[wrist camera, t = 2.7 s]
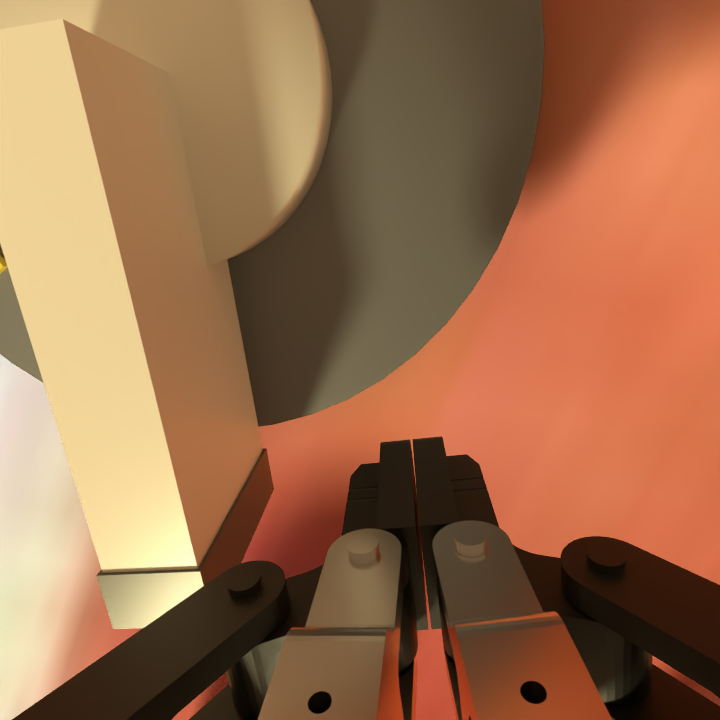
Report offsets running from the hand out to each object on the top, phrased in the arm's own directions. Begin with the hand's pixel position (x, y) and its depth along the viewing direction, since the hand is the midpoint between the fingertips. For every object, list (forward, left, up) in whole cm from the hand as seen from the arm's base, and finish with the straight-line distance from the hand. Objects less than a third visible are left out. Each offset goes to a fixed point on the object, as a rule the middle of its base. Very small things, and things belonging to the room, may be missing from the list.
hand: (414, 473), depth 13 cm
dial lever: (+6, -6, -5) cm, 10 cm away
